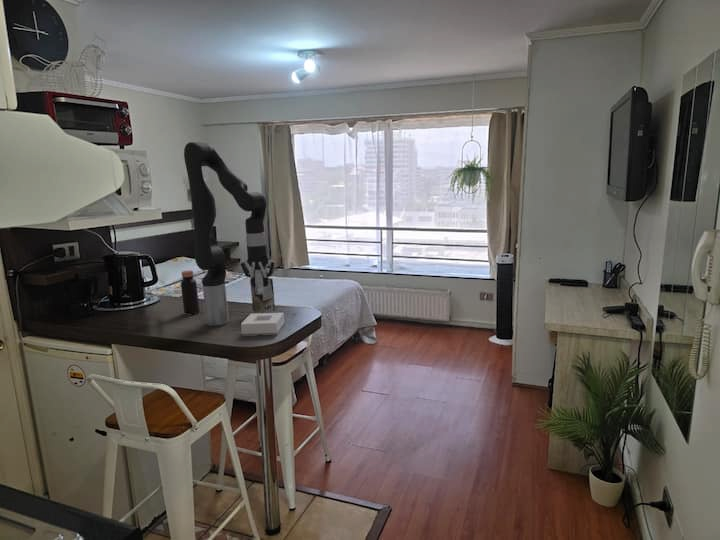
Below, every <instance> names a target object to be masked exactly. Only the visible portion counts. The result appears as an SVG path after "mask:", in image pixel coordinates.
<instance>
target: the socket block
mask: <svg viewBox="0 0 720 540" xmlns="http://www.w3.org/2000/svg"><path fill="white" fill-rule="evenodd" d="M284 326H285V313H284V312H275V313H253V312H252V313H250V314H249V315H248V316H247V317H246V318H245V319H244V320H243V321H242V322H241V323H240V328H241V337H258V336H257V335H272V336H278V335H279V334H278V333H281V331H280V330H282V329H283V328H284Z"/></svg>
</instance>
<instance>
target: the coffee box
mask: <svg viewBox="0 0 720 540" xmlns="http://www.w3.org/2000/svg"><path fill="white" fill-rule="evenodd" d="M249 281H250V282H249V283H250V291H251V301H252V302H251V303H252V304H251V305H252V313H276V306H275V294H274V293H275V292H274V282H273V278H269V277H268V281H269V284H268V285H267V287H265V288H266V293H265V294H260V295H258V294H256V291H255V287H253V286H252V285H251V278H250V279H249Z"/></svg>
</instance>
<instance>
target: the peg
mask: <svg viewBox="0 0 720 540" xmlns="http://www.w3.org/2000/svg"><path fill="white" fill-rule="evenodd" d="M254 280H255V291H256V294H258V295H260V294H265V293H266V288H265V287H264V275H263V273H262V271H261V269H255V270H254Z"/></svg>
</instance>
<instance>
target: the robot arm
mask: <svg viewBox="0 0 720 540" xmlns="http://www.w3.org/2000/svg"><path fill="white" fill-rule="evenodd" d="M183 157H184V158H183V159H184V163H185V168H186V172H187V178H188V184H189V185H188V186H189V190H190V193H189V194H190V201H191V202H190V203H191V212H192V218H193V229H194V230H193V231H194V258H195V263H196V265H197V267H198V268H199V269H200V270H201V271H207V273H206V274H205V275H204V276H203V278H202V279H201V284H202V285H201V286H202V291H203V292H202V293H203V300H204V301H203V303H202V311H203V319H204V326H211V327H215V326H216V327H218V326H223V325H227V324H228V323H229V322H230V318H229V308H228V300H227V299H228V298H227V289H226V276H227V267H226V266H227V265H226V264H227V263H226V255H225V252H224V251H223V249H222V248H221V247H220V246H218V245H212V246H211V235H212V230H213V227H214V224H215V221H216V217H217V208H216V206H217V205H216V199H215V196H214V195H213V193H212V191H211V189H210V187H209V186H208V184H207V183H206V181H205V179H204V174H203V169H202V167H207V168H209V169H211V170H213V172H215V174H217V178H218V181H219V183H220V184H221V186H222V187H223V189H225V190H226V192H228V193H229V194H230V195H231V196H232V198H234V200H235V202H236V204H237V205H238V207H239V208H240V209H241V210H243V211H244V212H248V213H249V212H251V214H250V216H249V217H247V218H245V222H244V223H245V232H246V236H245V237H246V239H245V241H246V250H247V260H246V261H242V262H241V263H240V266H241V269H242V271H243V273H244V275H245V277H246V278H250V279H251V284H250V286H251V285H252V286H253V287H255V280H254V270H255V269H261V271H262V273H263V275H264V287H267V285H268V284H269V281H268V278H269V277H272V275H273V274H274V269H275V267H276V264H277V263H276V260H270V259H269V258H268V257H269V256H268V248H267V238H266V233H265V223H264V221H265V216H266V209H267V200H266V198H265V197H266V196H265V195H264V194H263V193H261V192H259V191H256V192H248V188H249V187H248V185H247V183H246V182H245V181H244V180H242V178H241V177H240V176H238V174H236V173H235V172H234V171H233V170H232V169H231V168H230V167H229V166H228V165H227V163H226V162H225V160H224V159H223V158H222V157H221V155H220V154H219V153H218V151H217V150H216V149H215V148H214V147H213V146H212V145H210V144H209V143H206V142H197V141H195V142H193V141H191V142H188V143H186V144H185V146H184V149H183ZM268 264H269V265H268ZM267 265H268V266H269V270H268V269H267ZM248 266H250V268H251V269H249V268H248Z"/></svg>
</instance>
